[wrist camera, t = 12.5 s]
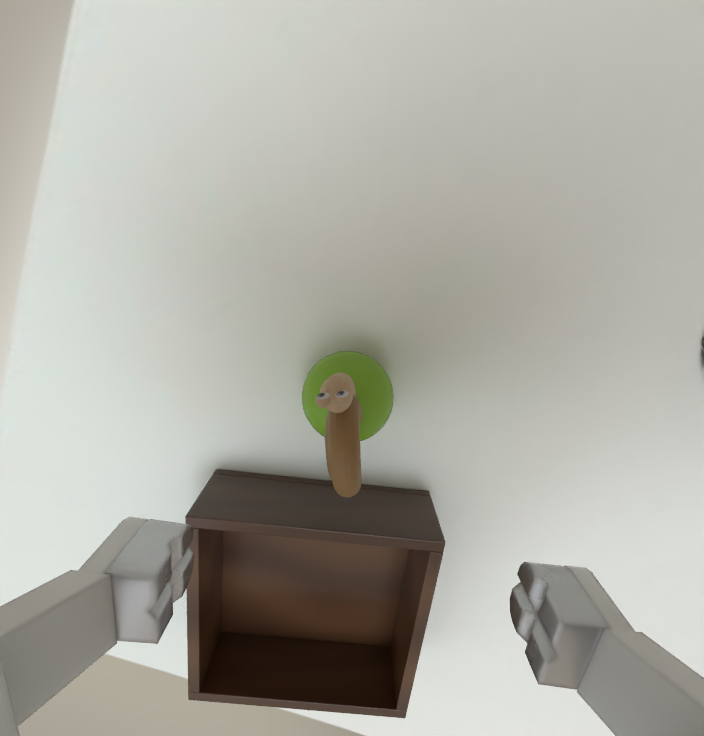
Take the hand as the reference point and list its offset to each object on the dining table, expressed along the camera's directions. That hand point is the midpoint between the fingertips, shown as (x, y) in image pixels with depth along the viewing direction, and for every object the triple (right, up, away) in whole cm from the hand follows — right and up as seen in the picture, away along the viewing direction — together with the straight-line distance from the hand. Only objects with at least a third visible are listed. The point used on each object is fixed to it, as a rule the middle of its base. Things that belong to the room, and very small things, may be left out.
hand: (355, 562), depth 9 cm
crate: (-3, -11, +20) cm, 23 cm away
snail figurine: (0, +4, +16) cm, 16 cm away
